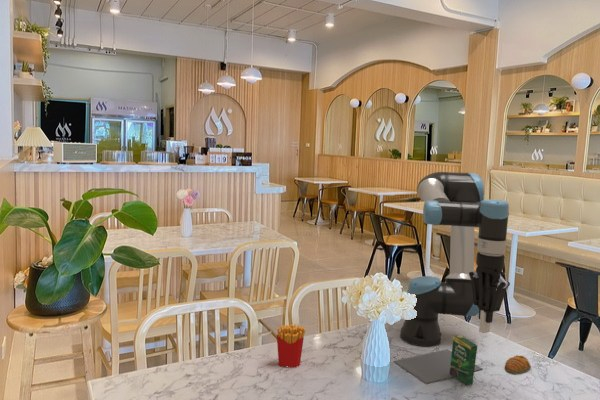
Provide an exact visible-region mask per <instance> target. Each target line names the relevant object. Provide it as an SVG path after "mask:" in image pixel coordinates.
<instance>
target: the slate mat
mask: <svg viewBox="0 0 600 400" xmlns="http://www.w3.org/2000/svg"><path fill="white" fill-rule="evenodd" d="M451 355H452V350H449V349H447V348H446V349H443V350H437V351H433V352H429V353H428V352H427V353H424V354H419V355H415V356H411V357H407V358H401V359H396V360H393V362H394V363H395V364H396V365H397V366H399V367H400V368H402V369H403V370H404V371H406V372H408V373H410V374H411V375H412V376H413V377H415V378H417V379H418V380H419V381H420V382H422V383H424V384H425V385H429V384H433V383H437V382H441V381H445V380H448V379H452V378H453V379H454V378H455V377H454V376H452V375H451V374H450V364H451ZM483 370H484V369H483V368H482V367H481V366H479V365H477V364H475V369H474V373H475V372H476V373H477V372H479V371H483Z"/></svg>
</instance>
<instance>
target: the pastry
mask: <svg viewBox="0 0 600 400" xmlns="http://www.w3.org/2000/svg"><path fill="white" fill-rule="evenodd" d="M531 369H532V365H531V363H530V361H529V359H528V358H527V357H525V356H524V355H514V356H513V357H509V359H507V360H506V361H505V365H504V370H505V372H508V373H511V374H514V375H516V374H517V375H518V374H524V373H526V372H528V371H529V370H531Z"/></svg>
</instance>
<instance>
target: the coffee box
mask: <svg viewBox="0 0 600 400" xmlns="http://www.w3.org/2000/svg"><path fill="white" fill-rule="evenodd" d="M477 350H478V344H476V343H474V342H472V341H470V340H469V339H467V338H466V337H464V336H462V335H461V334H456V335H453V338H452V346H451V351H452V355H451V364H450V374H451V375H452V376H454V377H453V378H456V379H457V380H458V381H459V382H461V384H463V385H465V386H466V387H468V386H469V387H470V386H472V385H473V384H474V377H475V372H474V369H475V365H476V360H477V359H476V358H477V353H478V352H477Z"/></svg>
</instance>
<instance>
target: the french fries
mask: <svg viewBox="0 0 600 400" xmlns="http://www.w3.org/2000/svg"><path fill="white" fill-rule="evenodd" d="M276 329H277V335H276V344H277V345H276V346H277V356H278V357H277V358H278V359H277V360H278V366H279V365H280V366H279V367H281V366H282V367H281V368H286V367H285V366H288V367H287V368H298V367H300V366H299V365H301V360H302V359H301V358H302V352H303V346H304V340H305V339H304V335H305V333H306V327H305V326H301V325H300V324H299V325H298V324H295V323H294V324H292V323H290V325H287V324H283V325H281V326H277V328H276ZM297 366H298V367H297Z"/></svg>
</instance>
